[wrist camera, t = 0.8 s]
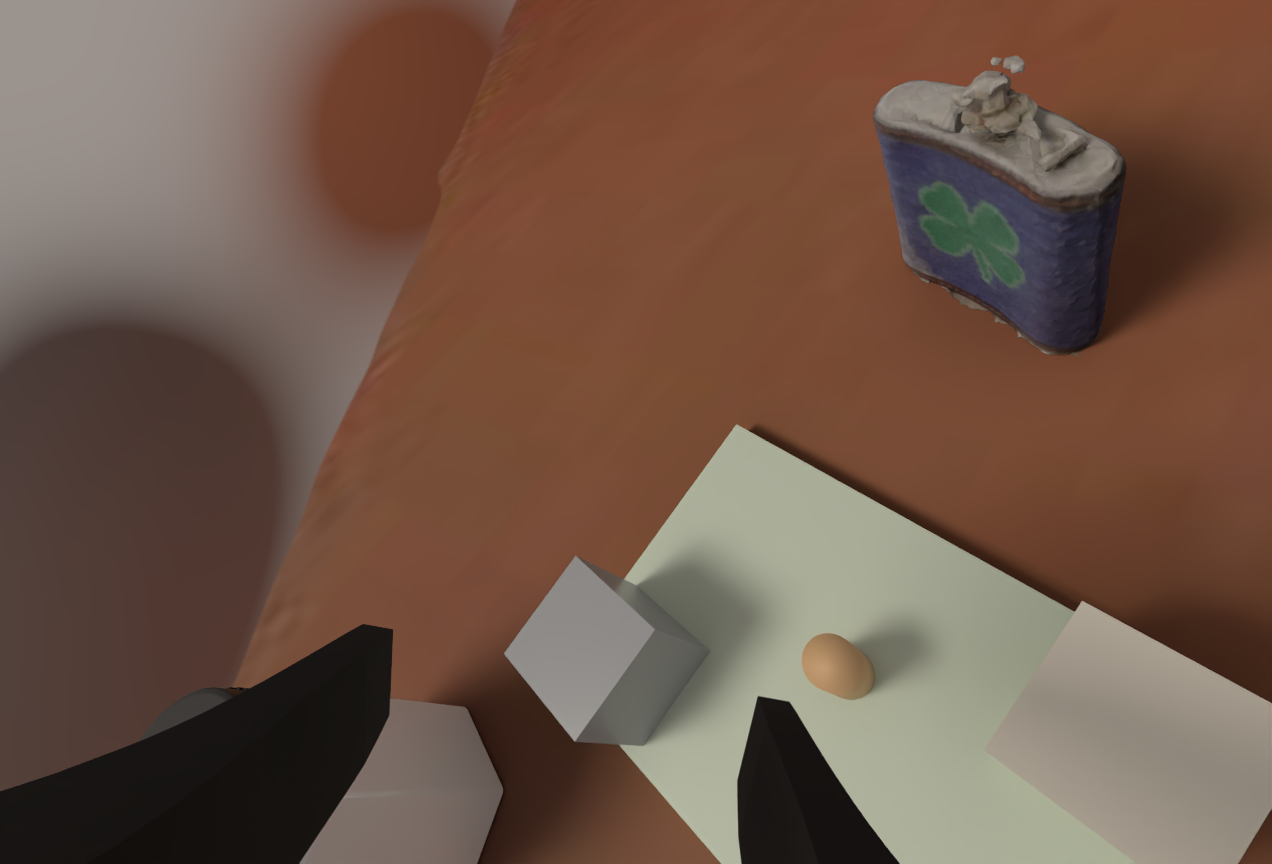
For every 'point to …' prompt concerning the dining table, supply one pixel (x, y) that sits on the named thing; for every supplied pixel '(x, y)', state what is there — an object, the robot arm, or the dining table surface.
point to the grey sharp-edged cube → (604, 656)
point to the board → (869, 596)
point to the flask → (1004, 204)
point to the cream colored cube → (1142, 745)
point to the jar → (399, 787)
